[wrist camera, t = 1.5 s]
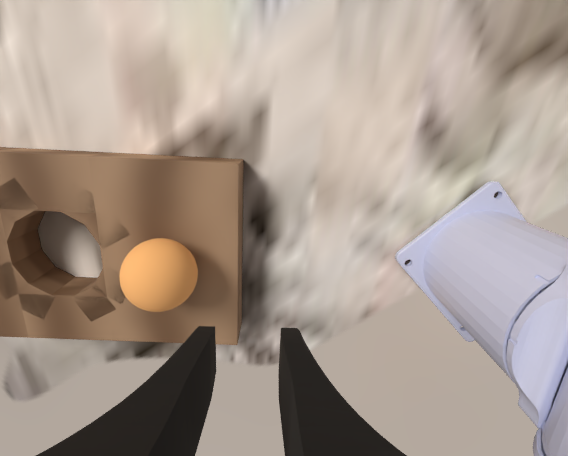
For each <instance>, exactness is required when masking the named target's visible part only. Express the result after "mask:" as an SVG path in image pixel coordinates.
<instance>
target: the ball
mask: <svg viewBox="0 0 568 456" xmlns="http://www.w3.org/2000/svg"><path fill="white" fill-rule="evenodd" d="M119 277H120V286H121V289H122V291H123V293H124V295H125V296H126V298H127V299H128V300H129V301H130V302H131V303H132V304H133V305H135V306H136V307H138V308H140V309H142V310H146V311H150V312H163V311H167V310H171V309H173V308H175V307H177V306H179V305H181V304H182V303H183V302H184V301H186V300H187V299H188V298H189V296H190V295H191V293H192V292H193V290H194V288H195V286H196V283H197V278H198V268H197V264H196V261H195V258H194V256H193V255H192V253H191V252H190V251H189V250H188V249H187V248H186V247H185V246H184V245H182V244H181V243H179V242H177V241H174V240H171V239H166V238H156V239H151V240H147V241H144V242H142V243H140V244H139V245H137V246H135V247H134V248H133V249H132V250H131V251H130V252H129V253H128V254H127V256H126V257H125V259H124V261H123V263H122V265H121V269H120V275H119Z"/></svg>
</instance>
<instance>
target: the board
mask: <svg viewBox="0 0 568 456" xmlns="http://www.w3.org/2000/svg"><path fill="white" fill-rule="evenodd" d="M45 211H56V212H62V213H64V214H66V215H68V216H69V217H71V218H73V219H75V220H77V221H79V222H80V223H82V224H84V225H85V226H86V227H87V229H88V230H89V231H90V233H91V234H92V235H93V237H94V238H95V239H96V241H97V242H98V243H99V245H100V248H101V256H102V263H103V269H102V271H101V273H100V275H99V277H98V278H86V277H74V276H72V275H70V274H69V273H67V272H65V271H63V270H61V269H59V268H57V267H55V266H54V264H53V263H52V262H51V261H50V259H49V258H48V257H47V256H46V254H45V253H44V252H43V251H42V249H41V245H40V240H39V234H38V226H39V224H40V222H41V219H42V217H43V215H44V213H45ZM156 238H166V239H171V240H174V241H177V242H179V243H181V244H182V245H184V246H185V247H186V248H187V249H188V250H189V251H190V252H191V253H192V255H193V256H194V258H195V261H196V264H197V268H198V278H197V283H196V286H195V288H194V290H193V292H192V293H191V295H190V296H189V298H188V299H187V300H186V301H184V302H183V303H182V304H181V305H179V306H177V307H175V308H173V309H171V310H167V311H163V312H150V311H146V310H142V309H140V308H138V307H136V306H135V305H133V304H132V303H131V302H130V301H129V300H128V299H127V298H126V296H125V295H124V293H123V291H122V289H121V286H120V277H119V275H120V269H121V265H122V263H123V261H124V259H125V257H126V256H127V254H128V253H129V252H130V251H131V250H132V249H133V248H134V247H135V246H137V245H139V244H140V243H142V242H144V241H147V240H151V239H156ZM242 242H243V159H226V158H206V157H186V156H166V155H146V154H126V153H106V152H86V151H66V150H46V149H26V148H6V147H0V336H3V337H31V338H59V339H87V340H115V341H143V342H171V343H184V342H185V341H186V340H187V339H188V337H189V336H190V335H191V334H192V333H193V332H194V330H195V329H196V328H197V327H199V326H215V340H216V344H227V345H237V343H238V338H239V333H240V328H241V323H242Z"/></svg>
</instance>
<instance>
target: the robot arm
mask: <svg viewBox="0 0 568 456" xmlns="http://www.w3.org/2000/svg"><path fill="white" fill-rule="evenodd" d="M496 192H498V196H497V197H496V198H494V194H495V193H496ZM395 259H396V261H397V262H398V263H399V264H400V265H401V266H402V268H403V269H404V270H405V271H406V272H407V273H408V275H409V276H410V277H411V278H412V279H413V280H414V281H415V283H416V284H417V285H418V286H419V287H420V288H421V290H422V291H423V292H424V293H425V294H426V295H427V296H428V298H429V299H430V300H431V301H432V302H433V303H434V304H435V306H436V307H437V308H438V309H439V310H440V312H441V313H442V314H443V315H444V316H445V317H446V318H447V319H448V321H449V322H450V323H451V324H452V325H453V326H454V328H455V329H456V330H457V331H458V332H459V333H460V335H461V336H462V337H463V338H464V339H465V340H466V341H469V342H471V341H474V340H476V342H477V343H478V344H479V345H480V346H481V347H482V348H483V349H484V350H485V351H486V352H487V354H488V355H489V356H490V357H491V358H492V359H493V360H494V361H495V362H496V363H497V365H499V367H500V368H501V369H502V370H503V371H504V372H505V373H506V374H507V375H508V377H509V378H510V379H511V380H512V381H513V382H514V383H515V384H516V386H517V388H518V389H519V396H520V397H519V402H518V405H519V406H520V407H521V409H522V410H523V411H524V412H525V413H526V415H527V416H528V417H529V418H530V419H531V420H532V421H533V423H534V424H535V425H536V426H537V428H539V429H538V430H537V432H536V435H535V437H534V442H533V453H534V456H568V238H566V237H564V236H561V235H559V234H556V233H553V232H551V231H548V230H545V229H543V228H541V227H538V226H535V225H533V224H530V223H528V222H526V220H525V219H524V217H523V216H522V214H521V213H520V212H519V210H518V209H517V207H516V206H515V204H514V203H513V202H512V200H511V199H510V197H509V196H508V194H507V193H506V191H505V190H504V189H503V187H502V186H501V184H500V183H498V182H495V181H489V182H487V183H486V184H485V185H483V186H482V187H481V188H479V189H478V190H477V191H476V192H474V193H473V194H472V195H470V196H469V197H468V198H466V199H465V200H464V201H463V202H461V203H460V204H459V205H457V206H456V207H455V208H454V209H452V210H451V211H450V212H448V213H447V214H446V215H444V216H443V217H442V218H441V219H439V220H438V221H437V222H435V223H434V224H433V225H431V226H430V227H429V228H428V229H426V230H425V231H424V232H422V233H421V234H420V235H419V236H417V237H416V238H415V239H413V240H412V241H411V242H409V243H408V244H407V245H406V246H404V247H403V248H402V249H400V250H399V251H398V252H397V253H396V255H395ZM406 260H410V262H409V264H405V261H406ZM461 326H463V327H462V328H460V327H461ZM215 374H216V340H215V326H199V327H197V328H196V329H195V330H194V332H193V333H192V334H191V335H190V336H189V337H188V339H187V340H186V341H185V342H184V343H183V344H182V345H181V347H180V348H179V349H178V350H177V351H176V352H175V353H174V354H173V355H172V356H171V357H170V358H169V359H168V360H167V361H166V363H165V364H164V365H163V366H162V367H160V368H159V370H157V371H156V373H154V374H153V375H152V376H151V377H150V378H149V379H148V380H147V381H146V382H145V383H143V384H142V385H141V386H140V387H139V388H138V389H137V390H135V391H134V392H133V393H132V394H130V395H129V396H128V397H127V398H126V399H124V400H123V401H122V402H121V403H119V404H118V405H116V406H115V407H113V408H112V409H111V410H109V411H108V412H106V413H105V414H104V415H102V416H101V417H99V418H98V419H96V420H95V421H94V422H92V423H91V424H89V425H87V426H86V427H84V428H83V429H81V430H80V431H78V432H77V433H75V434H73V435H71V436H70V437H68V438H66V439H65V440H63V441H62V442H60V443H58V444H56V445H55V446H53V447H51V448H49V449H47V450H46V451H44V452H42V453H40V454H38V455H36V456H195V453H196V450H197V446H198V443H199V440H200V436H201V433H202V429H203V426H204V422H205V419H206V415H207V411H208V408H209V405H210V401H211V397H212V392H213V386H214V381H215ZM279 404H280V413H281V423H282V432H283V441H284V449H285V456H406V455H405V454H404V453H402V452H401V451H400V450H398V449H397V448H396V447H394V446H393V445H392V444H391V443H390V442H388V441H387V440H386V439H385V438H383V437H382V436H381V435H380V434H379V433H378V432H376V431H375V430H374V429H373V428H372V427H371V426H370V425H369V424H368V423H367V422H366V421H365V420H364V419H363V418H362V417H360V416H359V415H358V414H357V412H356V411H355V410H354V409H353V408H352V407H351V406H350V405H349V404H348V403H347V402H346V400H345V399H344V398H343V397H342V396H341V395H340V394H339V392H338V391H337V390H336V389H335V387H334V386H333V385H332V384H331V382H330V381H329V379H328V378H327V377H326V375H325V374H324V372H323V371H322V370H321V368H320V367H319V365H318V364H317V362H316V360H315V359H314V357H313V356H312V354H311V352H310V350H309V349H308V347H307V345H306V343H305V341H304V339H303V337H302V335H301V333H300V331H299V330H298V329H297V328H281V339H280V357H279Z"/></svg>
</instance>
